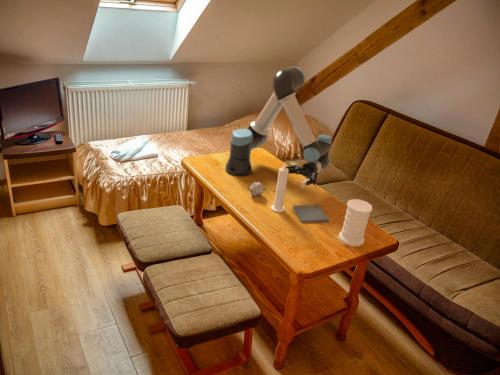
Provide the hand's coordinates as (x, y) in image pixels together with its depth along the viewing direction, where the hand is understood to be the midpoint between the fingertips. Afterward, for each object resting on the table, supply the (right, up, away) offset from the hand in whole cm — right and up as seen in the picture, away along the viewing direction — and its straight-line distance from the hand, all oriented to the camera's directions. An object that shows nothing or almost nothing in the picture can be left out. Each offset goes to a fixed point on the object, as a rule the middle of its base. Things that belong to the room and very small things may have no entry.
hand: (290, 180), depth 216 cm
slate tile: (+10, -17, 0) cm, 20 cm away
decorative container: (+26, -27, -15) cm, 41 cm away
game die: (-17, -8, +12) cm, 22 cm away
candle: (-6, -14, +2) cm, 16 cm away
